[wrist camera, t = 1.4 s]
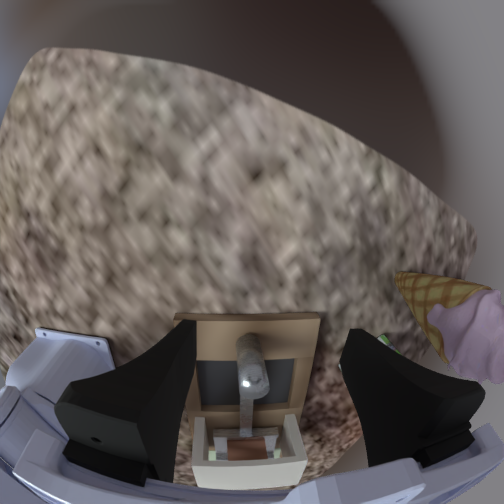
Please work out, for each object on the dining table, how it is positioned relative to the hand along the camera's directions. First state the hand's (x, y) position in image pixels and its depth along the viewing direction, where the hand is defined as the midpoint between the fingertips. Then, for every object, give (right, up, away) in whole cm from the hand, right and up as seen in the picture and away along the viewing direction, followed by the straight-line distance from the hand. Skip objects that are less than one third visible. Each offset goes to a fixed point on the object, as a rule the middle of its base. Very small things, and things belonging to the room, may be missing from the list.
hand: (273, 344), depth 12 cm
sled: (-2, -11, +11) cm, 16 cm away
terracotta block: (-2, -17, +13) cm, 22 cm away
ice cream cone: (+13, +2, +11) cm, 17 cm away
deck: (-2, -14, +14) cm, 20 cm away
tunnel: (-2, -16, +13) cm, 21 cm away
